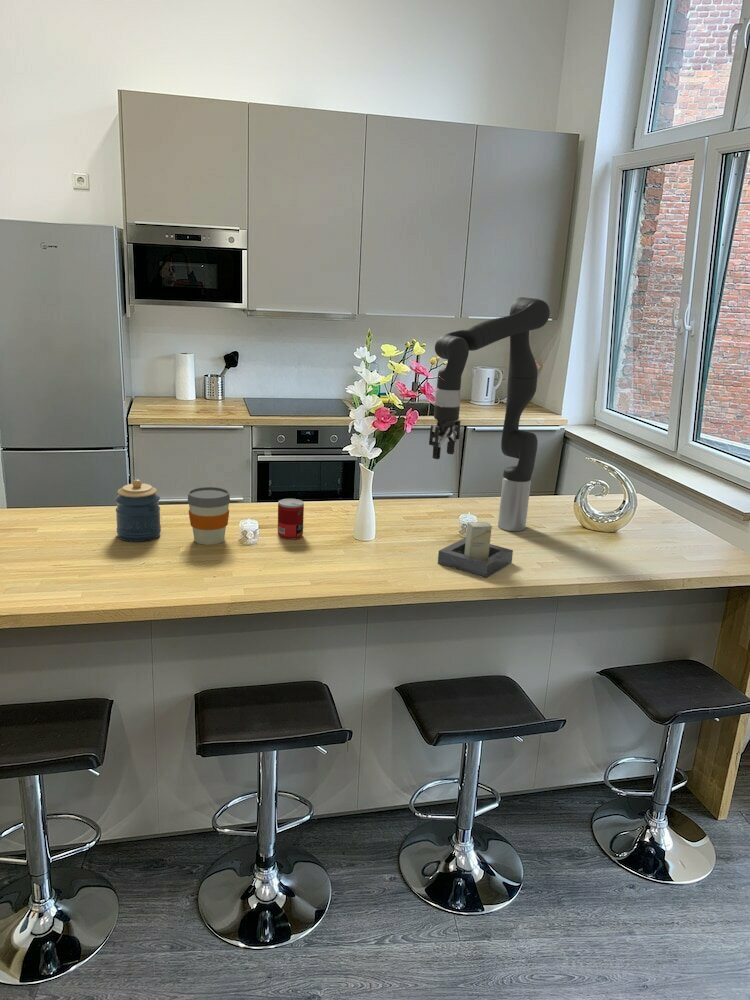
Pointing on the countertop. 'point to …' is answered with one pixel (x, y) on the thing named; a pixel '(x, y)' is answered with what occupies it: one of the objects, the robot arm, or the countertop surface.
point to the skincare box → (478, 540)
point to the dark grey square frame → (475, 559)
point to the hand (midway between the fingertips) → (443, 456)
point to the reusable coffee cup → (208, 514)
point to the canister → (138, 512)
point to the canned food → (290, 518)
